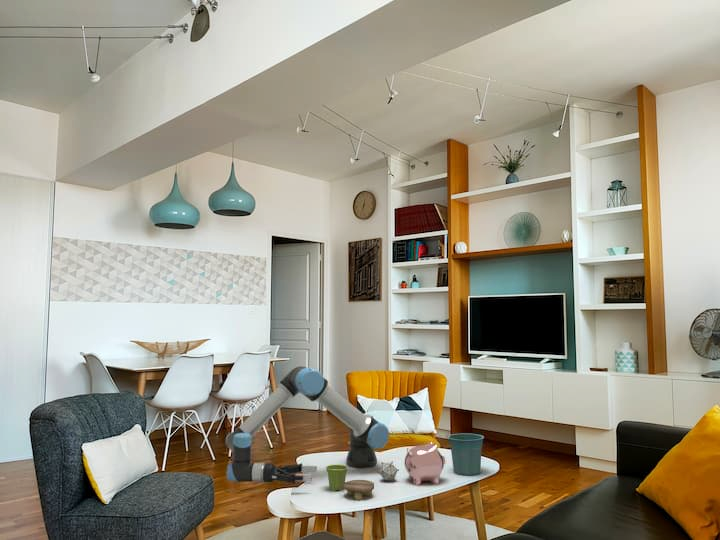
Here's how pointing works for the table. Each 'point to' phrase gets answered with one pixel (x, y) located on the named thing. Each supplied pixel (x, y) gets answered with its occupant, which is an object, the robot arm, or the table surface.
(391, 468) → the game die
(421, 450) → the piggy bank
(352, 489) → the stand
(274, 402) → the robot arm
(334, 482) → the plant pot
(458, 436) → the flower pot
